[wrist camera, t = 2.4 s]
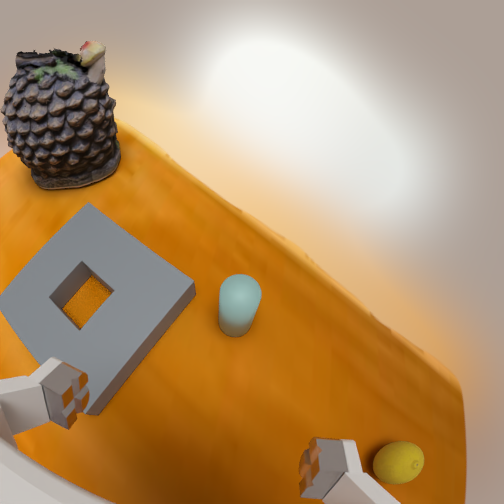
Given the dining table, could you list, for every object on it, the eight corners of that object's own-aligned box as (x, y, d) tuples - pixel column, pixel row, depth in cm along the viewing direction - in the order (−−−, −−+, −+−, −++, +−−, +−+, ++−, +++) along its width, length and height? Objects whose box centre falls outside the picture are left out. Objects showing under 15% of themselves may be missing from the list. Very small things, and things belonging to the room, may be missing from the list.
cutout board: (195, 294, 38) (194, 281, 35) (98, 415, 29) (85, 414, 25) (96, 218, 42) (88, 202, 39) (9, 312, 33) (-5, 302, 29)
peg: (257, 317, 38) (269, 288, 30) (239, 343, 36) (246, 320, 28) (230, 300, 38) (235, 267, 31) (211, 324, 37) (211, 296, 29)
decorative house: (135, 136, 53) (119, 15, 31) (121, 194, 45) (86, 50, 24) (44, 148, 50) (9, 45, 28) (19, 204, 42) (-39, 92, 21)
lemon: (385, 485, 27) (420, 493, 20) (354, 470, 28) (386, 478, 22) (405, 450, 30) (443, 450, 23) (377, 434, 31) (412, 433, 24)
